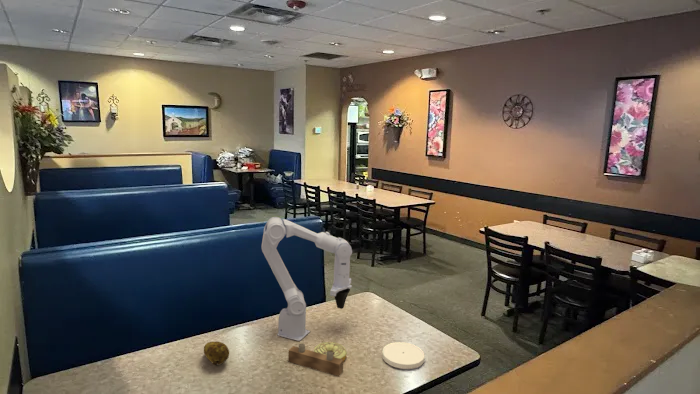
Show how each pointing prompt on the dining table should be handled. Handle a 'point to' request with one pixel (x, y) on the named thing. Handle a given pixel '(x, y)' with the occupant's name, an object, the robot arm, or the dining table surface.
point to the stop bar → (315, 360)
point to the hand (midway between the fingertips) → (340, 307)
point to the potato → (216, 352)
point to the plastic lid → (403, 355)
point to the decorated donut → (331, 349)
